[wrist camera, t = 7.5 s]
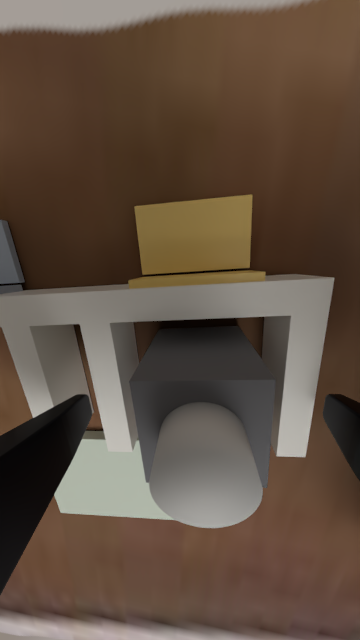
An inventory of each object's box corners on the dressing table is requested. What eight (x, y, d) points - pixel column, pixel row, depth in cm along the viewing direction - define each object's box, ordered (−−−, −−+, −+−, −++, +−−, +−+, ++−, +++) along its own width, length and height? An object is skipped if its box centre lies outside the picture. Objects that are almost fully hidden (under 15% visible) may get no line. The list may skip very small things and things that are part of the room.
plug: (238, 325, 9) (305, 422, 4) (237, 393, 10) (287, 551, 5) (159, 328, 10) (106, 420, 4) (166, 393, 11) (132, 539, 5)
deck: (193, 432, 11) (192, 441, 11) (197, 510, 13) (197, 521, 13) (41, 430, 12) (33, 438, 12) (66, 502, 14) (60, 512, 14)
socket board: (303, 191, 7) (353, 157, 5) (280, 413, 10) (305, 457, 8) (-117, 233, 9) (-225, 222, 7) (-34, 410, 12) (-89, 445, 10)
